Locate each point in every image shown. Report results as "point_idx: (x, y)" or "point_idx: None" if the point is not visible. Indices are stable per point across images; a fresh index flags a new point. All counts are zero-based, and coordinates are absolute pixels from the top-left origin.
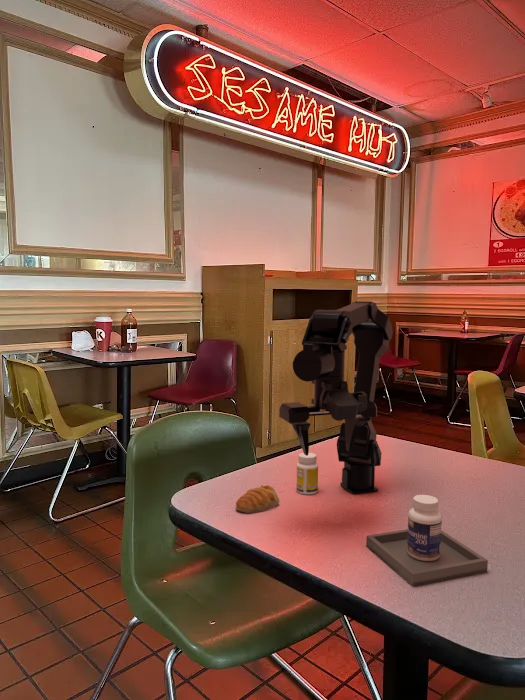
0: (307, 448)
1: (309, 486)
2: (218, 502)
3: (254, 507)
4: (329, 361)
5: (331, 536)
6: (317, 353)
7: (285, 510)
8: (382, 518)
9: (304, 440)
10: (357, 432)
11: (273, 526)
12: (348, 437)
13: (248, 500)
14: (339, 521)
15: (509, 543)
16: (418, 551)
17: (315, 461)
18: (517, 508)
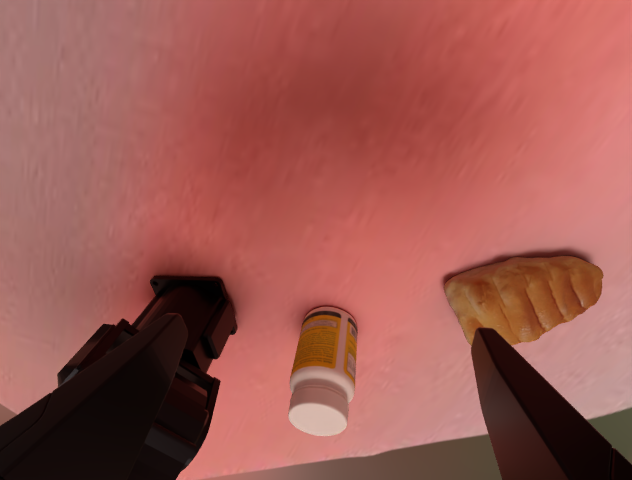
0: (512, 367)
1: (331, 323)
2: (597, 335)
3: (556, 261)
4: None
5: (402, 2)
6: None
7: (446, 242)
8: (178, 111)
9: (600, 445)
10: (16, 420)
11: (555, 145)
12: (130, 404)
13: (577, 287)
14: (320, 125)
15: None
16: None
17: (299, 389)
18: None
